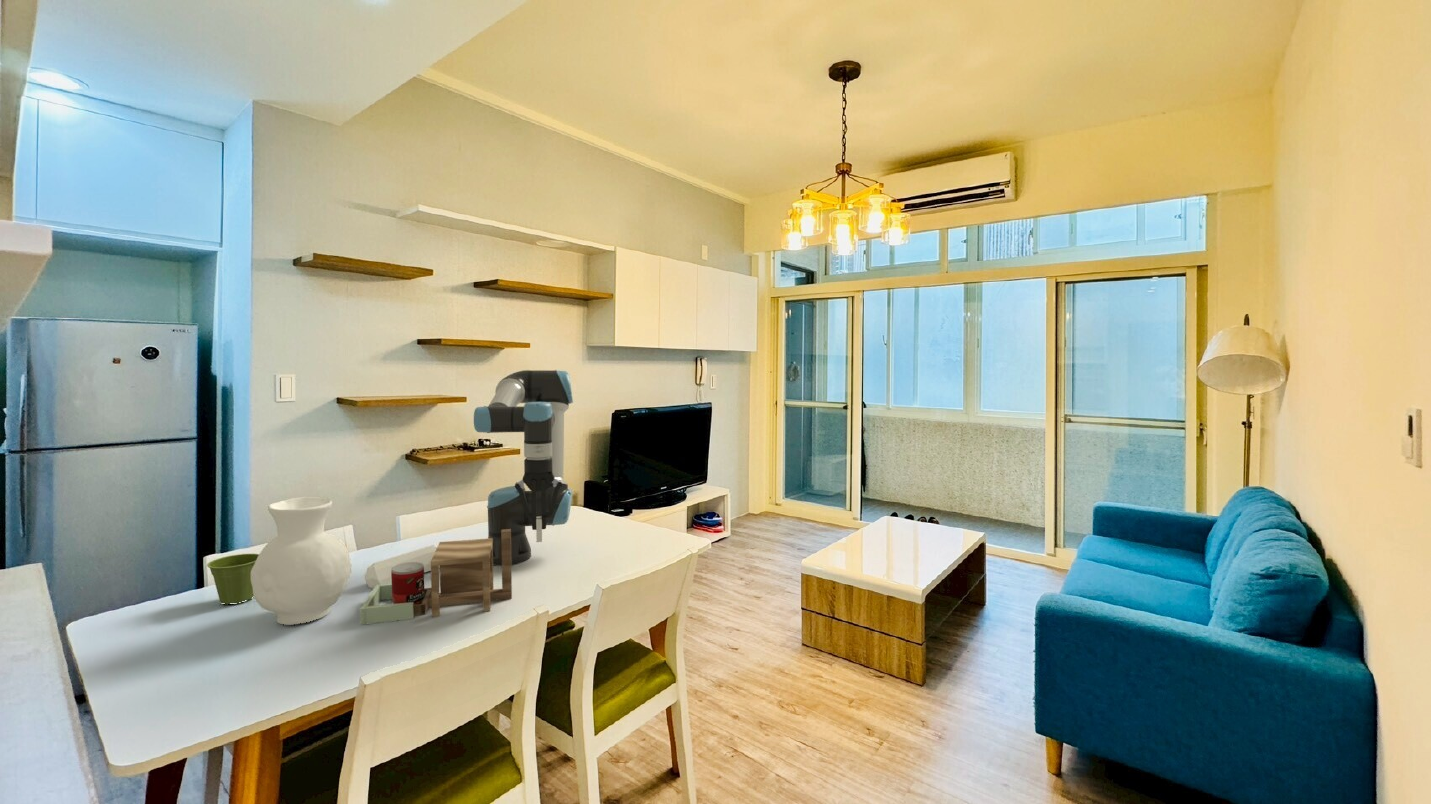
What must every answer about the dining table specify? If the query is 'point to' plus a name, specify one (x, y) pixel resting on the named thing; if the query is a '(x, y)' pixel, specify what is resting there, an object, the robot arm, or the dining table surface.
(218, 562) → the plant pot
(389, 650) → the dining table surface
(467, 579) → the stool
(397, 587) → the canned food
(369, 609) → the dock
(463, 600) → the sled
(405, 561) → the white faceted bar
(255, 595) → the vase
